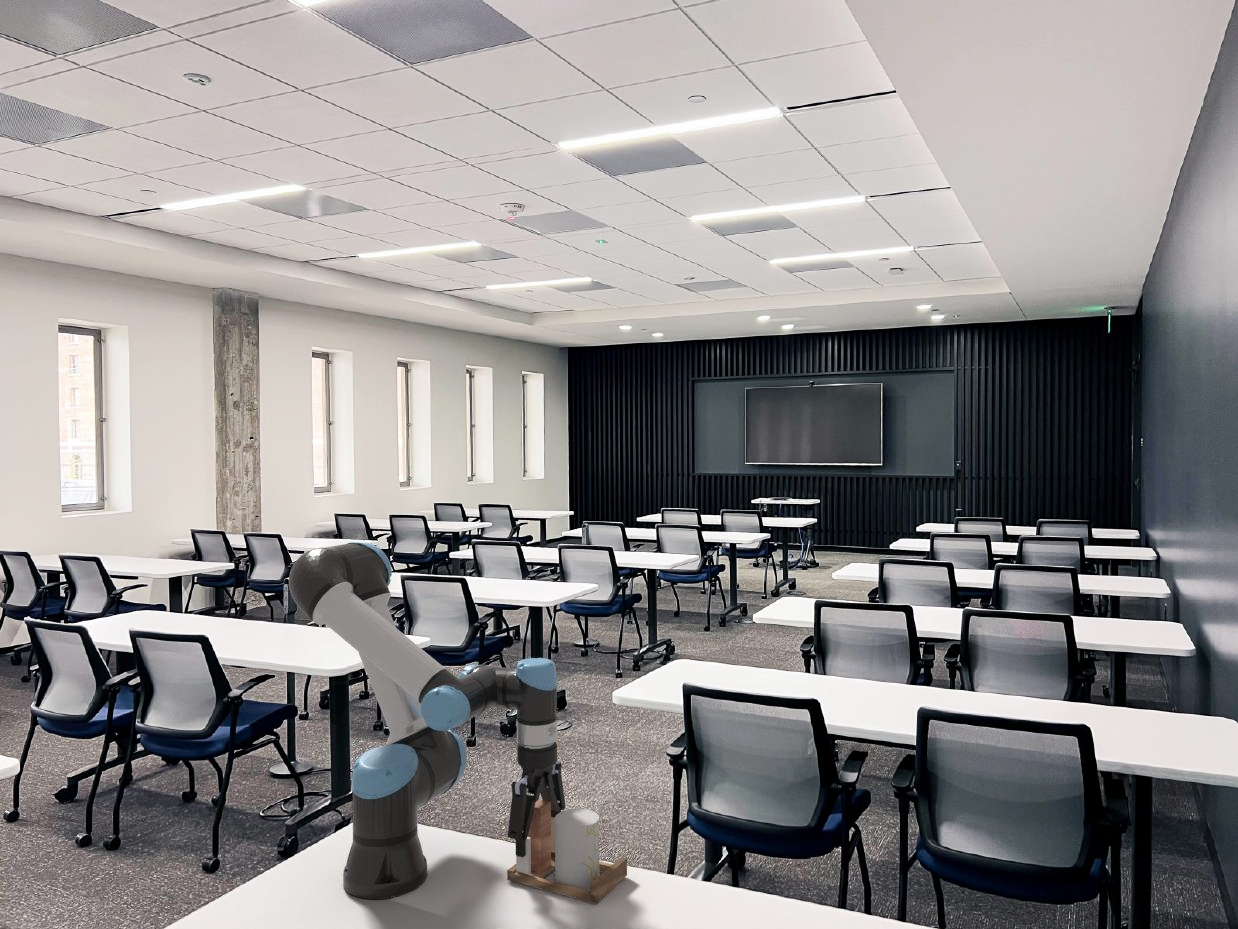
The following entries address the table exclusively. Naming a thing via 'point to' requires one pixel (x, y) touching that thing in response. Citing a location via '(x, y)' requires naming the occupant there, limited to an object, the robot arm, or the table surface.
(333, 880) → the table surface
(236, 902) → the table surface
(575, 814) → the cup
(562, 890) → the sled
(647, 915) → the table surface
